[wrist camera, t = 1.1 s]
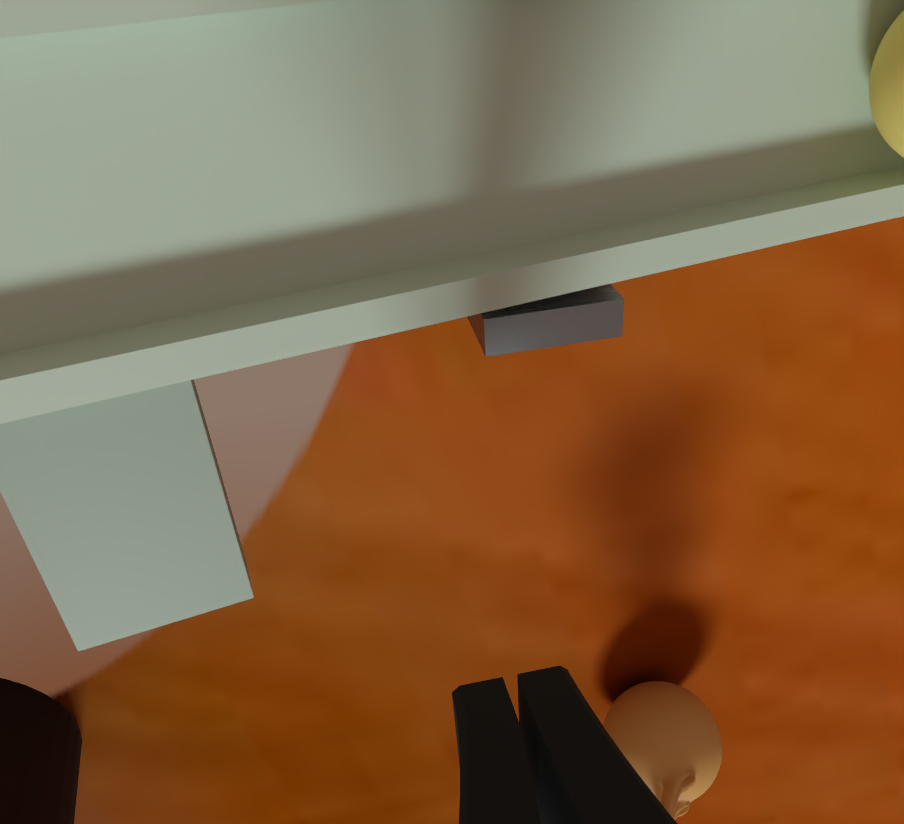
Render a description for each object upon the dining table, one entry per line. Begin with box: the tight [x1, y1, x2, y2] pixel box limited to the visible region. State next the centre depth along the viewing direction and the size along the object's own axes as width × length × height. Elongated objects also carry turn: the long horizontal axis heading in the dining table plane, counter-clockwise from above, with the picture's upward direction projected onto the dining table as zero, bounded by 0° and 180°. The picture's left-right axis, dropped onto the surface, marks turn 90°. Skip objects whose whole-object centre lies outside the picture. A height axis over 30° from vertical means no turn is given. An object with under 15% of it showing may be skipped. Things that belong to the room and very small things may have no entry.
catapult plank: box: [0, 0, 904, 651], centre depth 13 cm, size 18×10×2 cm, turn 93°
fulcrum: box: [467, 284, 624, 357], centre depth 14 cm, size 5×8×6 cm, turn 4°
